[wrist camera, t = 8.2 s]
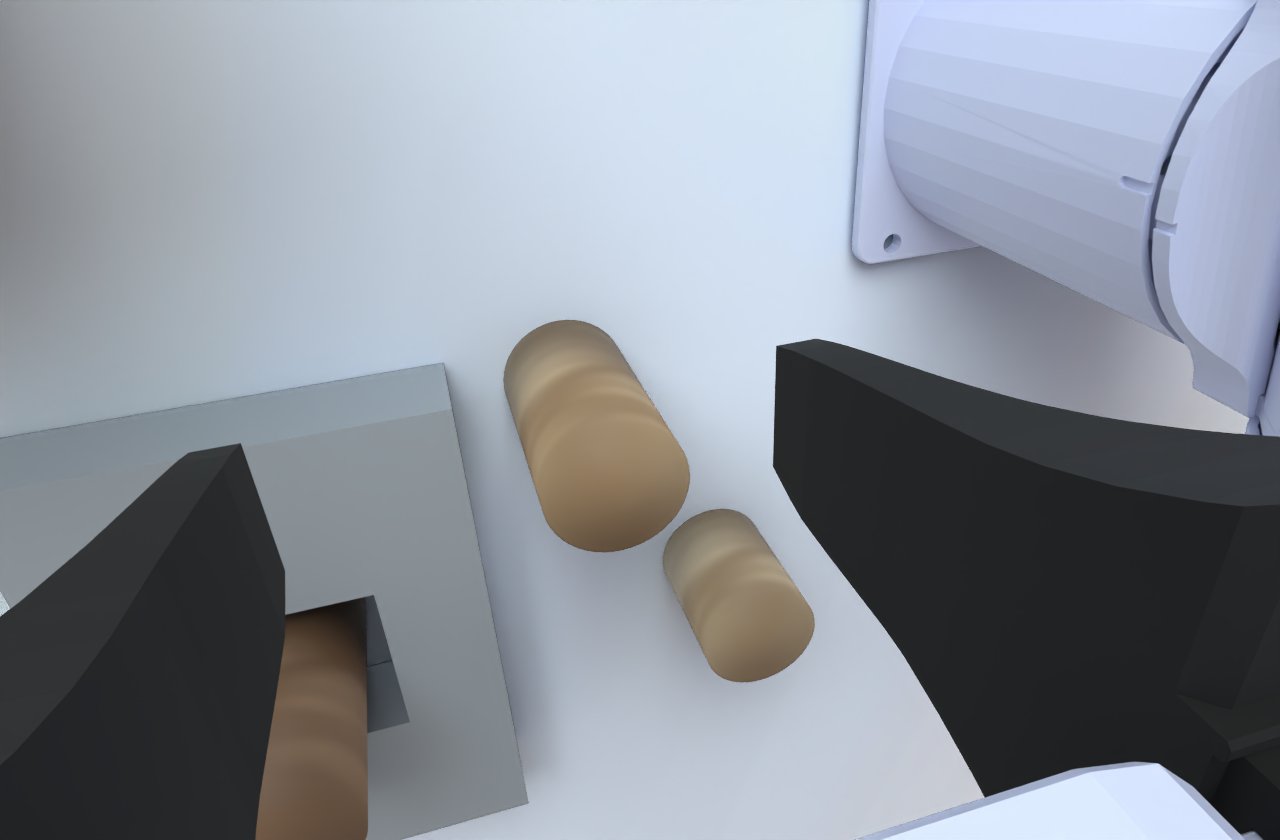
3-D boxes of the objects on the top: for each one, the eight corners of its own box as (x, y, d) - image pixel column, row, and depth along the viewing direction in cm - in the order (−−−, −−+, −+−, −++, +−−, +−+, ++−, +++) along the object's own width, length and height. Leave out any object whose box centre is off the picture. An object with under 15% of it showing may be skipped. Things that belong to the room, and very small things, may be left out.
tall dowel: (353, 558, 23) (352, 767, 17) (375, 643, 25) (380, 862, 19) (228, 582, 22) (181, 810, 16) (259, 668, 24) (226, 904, 18)
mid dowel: (619, 311, 22) (687, 409, 17) (626, 418, 23) (691, 534, 19) (495, 331, 21) (532, 439, 16) (512, 440, 23) (550, 566, 18)
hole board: (443, 362, 21) (452, 408, 19) (516, 739, 28) (528, 803, 26) (-6, 439, 19) (-52, 500, 17) (194, 825, 26) (180, 902, 24)
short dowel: (759, 499, 26) (817, 581, 23) (757, 578, 28) (811, 666, 24) (660, 521, 25) (705, 608, 22) (664, 601, 27) (707, 694, 24)
